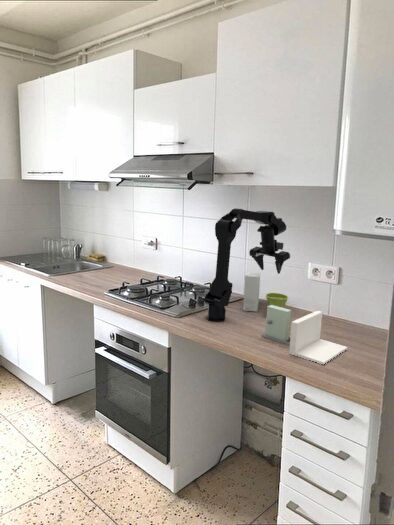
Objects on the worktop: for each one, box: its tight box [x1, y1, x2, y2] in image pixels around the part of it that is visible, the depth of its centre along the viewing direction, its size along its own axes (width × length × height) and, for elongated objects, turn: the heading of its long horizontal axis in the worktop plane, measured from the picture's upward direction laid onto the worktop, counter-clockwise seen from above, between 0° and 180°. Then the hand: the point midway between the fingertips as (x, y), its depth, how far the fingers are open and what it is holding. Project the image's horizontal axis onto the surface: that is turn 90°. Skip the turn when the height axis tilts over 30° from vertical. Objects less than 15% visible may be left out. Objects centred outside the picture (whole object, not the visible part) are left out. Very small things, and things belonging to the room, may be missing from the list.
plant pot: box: [265, 292, 289, 308], centre depth 175 cm, size 9×9×9 cm
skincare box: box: [243, 272, 261, 312], centre depth 182 cm, size 8×7×16 cm
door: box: [264, 305, 292, 342], centre depth 148 cm, size 8×4×11 cm, turn 48°
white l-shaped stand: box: [261, 310, 348, 365], centre depth 143 cm, size 27×18×11 cm, turn 48°
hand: (270, 271), depth 189 cm, fingers open, 9 cm apart
